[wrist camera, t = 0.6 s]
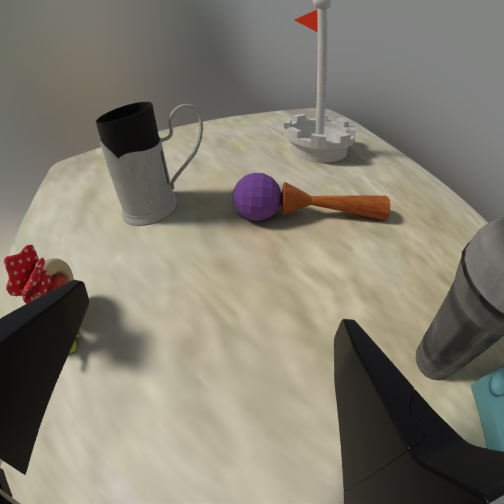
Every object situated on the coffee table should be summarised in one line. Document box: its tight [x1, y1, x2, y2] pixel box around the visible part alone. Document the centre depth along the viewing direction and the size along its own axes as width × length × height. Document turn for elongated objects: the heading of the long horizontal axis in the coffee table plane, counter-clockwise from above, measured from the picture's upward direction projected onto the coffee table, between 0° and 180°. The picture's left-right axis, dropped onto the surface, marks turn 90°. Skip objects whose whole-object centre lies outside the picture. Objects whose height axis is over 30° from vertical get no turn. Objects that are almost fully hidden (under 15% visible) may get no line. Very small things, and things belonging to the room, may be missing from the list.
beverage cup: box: [416, 218, 504, 380], centre depth 14 cm, size 7×7×20 cm
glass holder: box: [96, 102, 203, 226], centre depth 36 cm, size 9×14×15 cm, turn 113°
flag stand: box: [284, 0, 356, 163], centre depth 41 cm, size 13×13×30 cm
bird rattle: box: [4, 245, 80, 353], centre depth 23 cm, size 6×11×9 cm
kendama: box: [233, 173, 390, 221], centre depth 36 cm, size 6×6×20 cm
